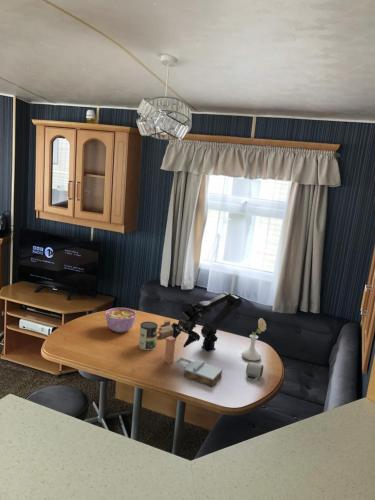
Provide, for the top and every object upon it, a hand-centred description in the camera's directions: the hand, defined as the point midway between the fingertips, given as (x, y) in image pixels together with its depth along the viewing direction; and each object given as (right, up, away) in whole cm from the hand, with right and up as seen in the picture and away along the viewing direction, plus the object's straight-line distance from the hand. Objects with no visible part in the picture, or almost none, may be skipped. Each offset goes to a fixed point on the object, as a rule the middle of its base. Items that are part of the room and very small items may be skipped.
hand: (177, 344), depth 226 cm
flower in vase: (+44, -11, +12) cm, 47 cm away
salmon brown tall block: (-5, -9, -2) cm, 11 cm away
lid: (+11, -9, -15) cm, 20 cm away
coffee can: (-19, -5, +13) cm, 23 cm away
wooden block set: (-10, -1, +37) cm, 39 cm away
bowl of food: (-39, +1, +33) cm, 51 cm away
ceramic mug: (+41, -16, -11) cm, 46 cm away
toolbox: (+14, -14, -16) cm, 25 cm away
